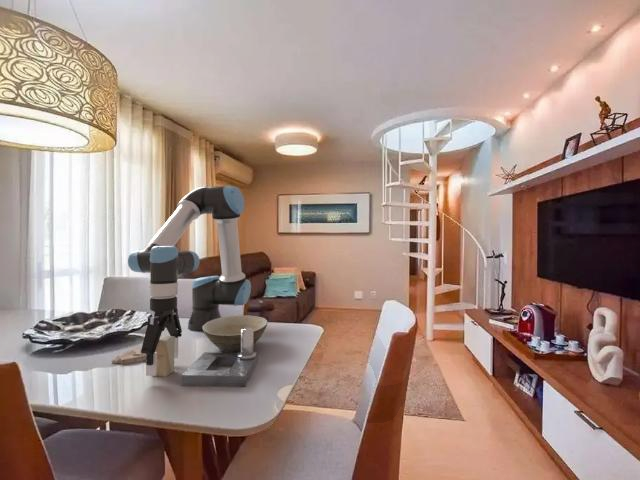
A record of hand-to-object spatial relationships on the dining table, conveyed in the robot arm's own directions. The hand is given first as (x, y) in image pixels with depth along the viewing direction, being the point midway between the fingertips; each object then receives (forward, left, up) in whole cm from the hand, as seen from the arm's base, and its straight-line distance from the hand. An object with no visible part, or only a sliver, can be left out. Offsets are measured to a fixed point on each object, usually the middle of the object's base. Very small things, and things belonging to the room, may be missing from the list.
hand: (163, 366), depth 99 cm
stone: (-12, -15, -3) cm, 19 cm away
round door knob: (-7, +24, -2) cm, 25 cm away
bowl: (-23, +16, -2) cm, 28 cm away
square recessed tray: (-1, +18, -2) cm, 18 cm away
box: (0, 0, -2) cm, 2 cm away
